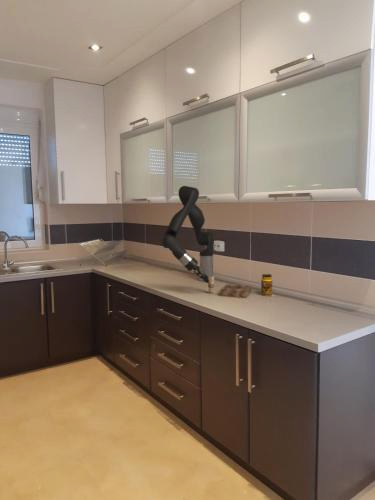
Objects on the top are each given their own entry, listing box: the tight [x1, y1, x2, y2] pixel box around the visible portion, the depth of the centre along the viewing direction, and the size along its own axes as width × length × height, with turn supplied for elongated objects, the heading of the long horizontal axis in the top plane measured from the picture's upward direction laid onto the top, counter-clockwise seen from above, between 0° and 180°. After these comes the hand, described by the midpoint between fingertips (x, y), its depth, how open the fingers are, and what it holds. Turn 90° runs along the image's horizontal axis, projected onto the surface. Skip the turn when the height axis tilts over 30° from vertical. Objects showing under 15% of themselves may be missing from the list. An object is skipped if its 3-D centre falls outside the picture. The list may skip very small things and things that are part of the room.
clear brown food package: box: [219, 284, 253, 299], centre depth 225 cm, size 15×14×4 cm
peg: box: [207, 275, 215, 295], centre depth 228 cm, size 4×4×10 cm
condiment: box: [258, 273, 276, 298], centre depth 223 cm, size 7×8×12 cm
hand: (208, 280), depth 228 cm, fingers open, 8 cm apart
